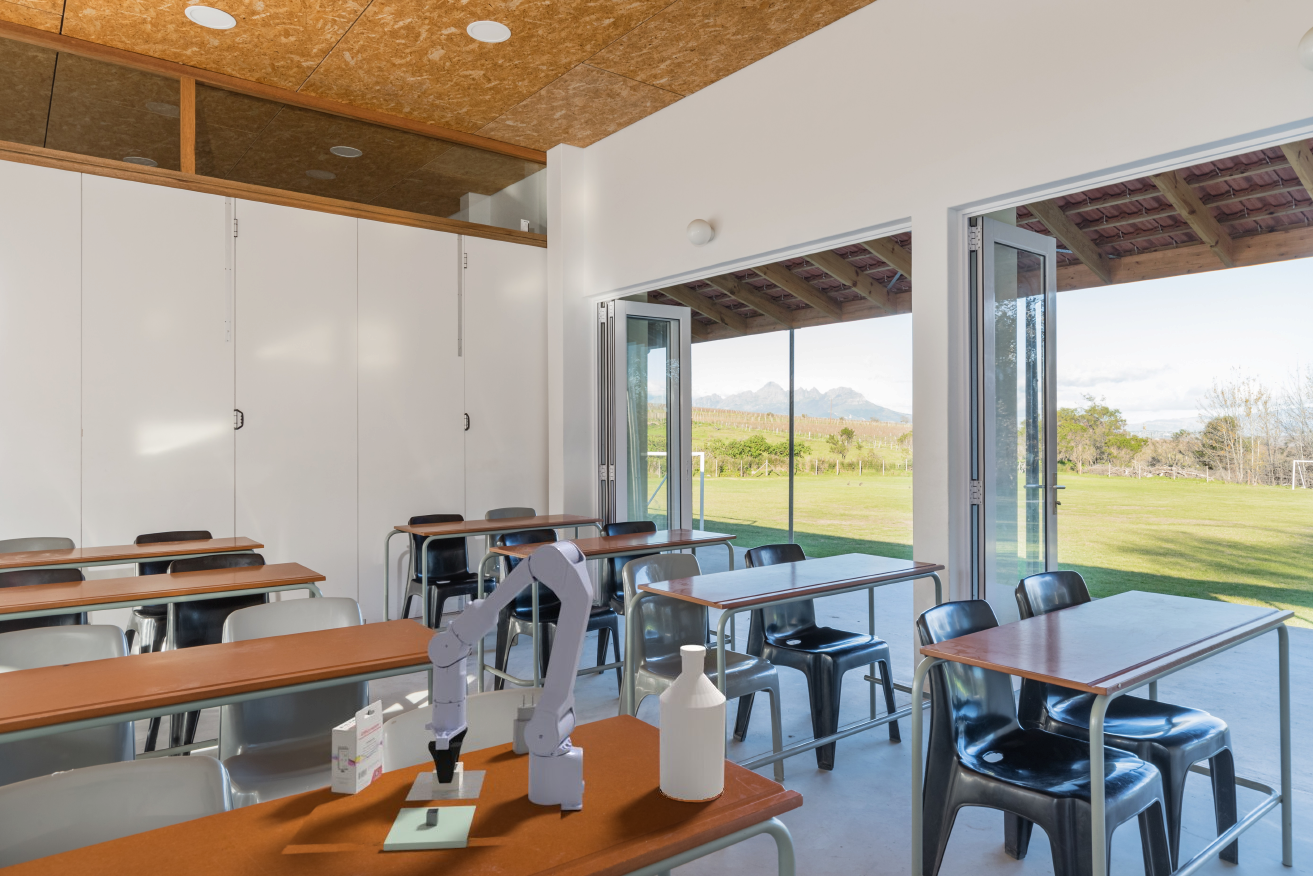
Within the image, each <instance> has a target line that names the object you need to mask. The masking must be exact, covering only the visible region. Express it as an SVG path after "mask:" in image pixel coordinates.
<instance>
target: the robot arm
mask: <svg viewBox="0 0 1313 876" xmlns="http://www.w3.org/2000/svg"><path fill="white" fill-rule="evenodd" d="M586 559H587V558H586V555H584V553H583V552H582V550H580V548H579V547H578V546H577V545H576V543H574V542H573V541H570V540H569V539H567V540H566V539H561V540H557V541H555V542H554V543H550V544H548V543H546V544H542V545H539V546H538V547H537V548H535V549H534V551H532V553H531V554H527V556H525V557H524V558H523V559H522V560H521V561H520V562H519V563H518V564H516V566H514V568H513V569H512V570H511V571H510V573H509V574H508V575H507V576H505V578H504V579H503V580H502V581H501V582H500V583H499V584H498V585H497V586H496V588H494V590H493V591H492V592H491V593H490V594H489V595H488V596H487V597H486V598H485V599H484V598H483V599H480V598H477V599H474V600H473V601H472V600H470V601H467V602H466V603H465V604H464V605H463V607H462V608H463V609H464V610H463V611H462V612H461V613H460V614H459V615H458V616H457V617H456V618H455V619H454V620H450V621H448V622H447V623H446V624H445V627H446V630H444V631H441V632H437V633H435V634H433V636H432V638H431V639H430V641H429V642H428V644H427V655H428V658H429V660H430V661H431V662H432V663H433V667H432V670H433V671H432V710H431V711H432V712H431V713H432V715H431V720H432V721H431V722H426V723H425V725H424V730H427V731H428V730H429V731H431V733H432V734H433V736H434V737H435V740H430V741H429V742H428V744H427V749H428V751H429V753H430V754H431V757H432V760H433V762H434V765H435V766H436V772H437V777H438V781H439V783H451V782H452V779H453V775H454V769H455V763H456V762H459V759H460V754H461V748H462V746H463V742H464V739H465V737H466V735H467V734H468V726H467V721H466V711H467V709H466V707H467V706H466V705H467V659H468V657H469V656H470V654H471V653H472V651H473V648H474V647H475V646H476V645H477V644H478V643H479V642H480V641H481V640H482V639H483V638H484V637H485V636H486V635H487V634H488V633H489V632H490V631H491V630H492V629H494V627H496V626H497V624H498V622H499V615H500V614H499V613H500V612H501V610H503V608H505V607H506V606H507V605H508V604H509V603H510V602H511V601H513V600H514V599H516V597H517V596H518V595H519V594H520V593H521V592H523V590H525V589H526V588H527V587H528V586H529V585H531V584H535V583H538V582H541V583H542V584H544V585H545V586H546V587H547V588H549V589H550V590H551V591H553V592H554V594H555V595H556V596H557V598H558V599H559V601H560V603H561V604H560V610H559V615H558V618H557V624H556V627H555V633H554V638H553V643H552V647H551V652H550V656H549V661H548V665H547V670H546V673H545V674H546V675H545V680H544V684H543V689H542V691H541V692H542V693H541V695H540V696H539V699H538V701H537V703H536V704H537V705H536V707H535V710H534V714H533V717H532V718H531V720H530V721H529V722H528V723H527V725H526V727H525V730H524V739H525V743H526V745H527V746H528V748H529V753H528V800H529V801H530V802H532V803H533V804H536V805H542V806H553V805H559V804H560V810H561V811H570V810H571V811H572V810H577V811H579V810H582V809H583V794H584V793H585V780H583V778H584V777H583V775H584V774H583V771H584V770H583V769H584V766H583V765H584V760H583V759H584V757H583V756H584V754H583V753H584V752H583V751H584V749H583V747H577V746H573V745H572V741H571V738H570V735H571V734H572V733H573V731H574V730H575V728H576V725H577V716H576V713H575V704H576V698H575V696H574V689H575V686H576V685H575V684H576V679H577V675H578V670H579V666H580V662H581V661H580V660H581V657H582V651H583V648H584V642H585V640H586V634H587V628H588V625H589V619H590V615H591V610H592V606H593V602H594V595H595V594H594V593H595V592H594V588H593V585H592V583H591V578H590V575H589V572H588V569H587V560H586ZM435 766H434V767H435Z"/></svg>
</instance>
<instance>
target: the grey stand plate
mask: <svg viewBox="0 0 1313 876" xmlns="http://www.w3.org/2000/svg"><path fill="white" fill-rule="evenodd" d="M432 772H433V771H421V772H419V773H418V774H417V776H416V778H415V780H414V782H413V784H412V786H411V788H410V790H409V791H408V794H407V796H406V798H405V802H406V801H407V802H410V801H411V802H412V801H437V800H463V799H464V800H465V799H466V800H469V799H472V800H473V799H479V797H480V794H481V789H482V787H483V782H484V779H485V775H486V773H487V770H481V769H480V770H463V780H462V783H461V786H460V788H459V790H433V791H432Z"/></svg>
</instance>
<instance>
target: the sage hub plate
mask: <svg viewBox="0 0 1313 876" xmlns="http://www.w3.org/2000/svg"><path fill="white" fill-rule="evenodd" d="M476 807H477V805H461V806H455V805H454V806H434V807H433V806H432V807H405V808H404V807H401V808H400V810H399V813H398V814H397V817H396V818H395V821H394V822H393V825H392V826H391V828H390V830H389V833H388V835H387V836H386V838H385V840H384V843H383V851H384V852H385V851H405V850H406V851H410V850H431V849H432V850H435V849H455V848H456V849H457V848H459V849H460V848H467V845H468V841H469V837H468V836H469V832H470V828H471V824H472V823H473V818H474V814H475V811H476Z"/></svg>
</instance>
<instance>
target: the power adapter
mask: <svg viewBox="0 0 1313 876" xmlns="http://www.w3.org/2000/svg"><path fill="white" fill-rule="evenodd" d="M522 697H523V699H522V704H520V705H519V706H517V713H516V714H517V717H513V723H512V725H513V727H512V729H513V733H512V751H513V752H514V753H515V754H516V755H524V754H529V748H528V746H527V745H526V743H525V739H524V730H525V727H526V725H527V723H528V722H529V721H530V720H531V718H532V717H533V714H534V710H535V707H536V705H537V703H534V701H535V700H534V697H535V694H534V692H532V694H531V697H532V698H531V703H525V702H526V699H525V698H526V697H525V693H524V694H522Z"/></svg>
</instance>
